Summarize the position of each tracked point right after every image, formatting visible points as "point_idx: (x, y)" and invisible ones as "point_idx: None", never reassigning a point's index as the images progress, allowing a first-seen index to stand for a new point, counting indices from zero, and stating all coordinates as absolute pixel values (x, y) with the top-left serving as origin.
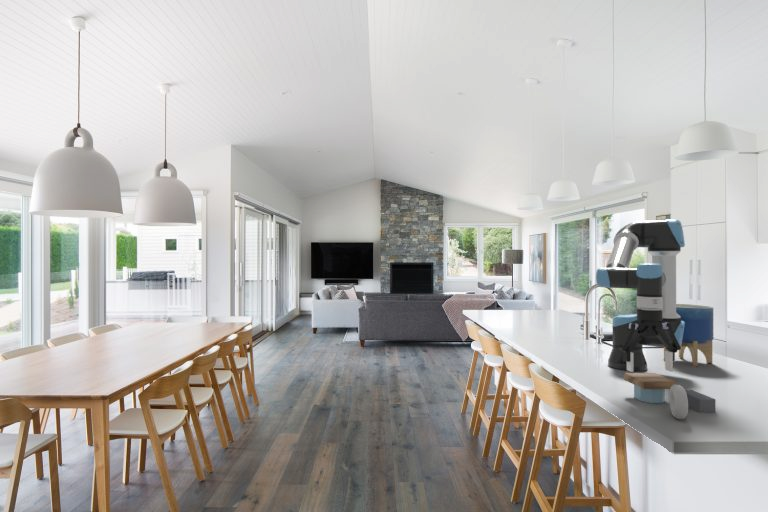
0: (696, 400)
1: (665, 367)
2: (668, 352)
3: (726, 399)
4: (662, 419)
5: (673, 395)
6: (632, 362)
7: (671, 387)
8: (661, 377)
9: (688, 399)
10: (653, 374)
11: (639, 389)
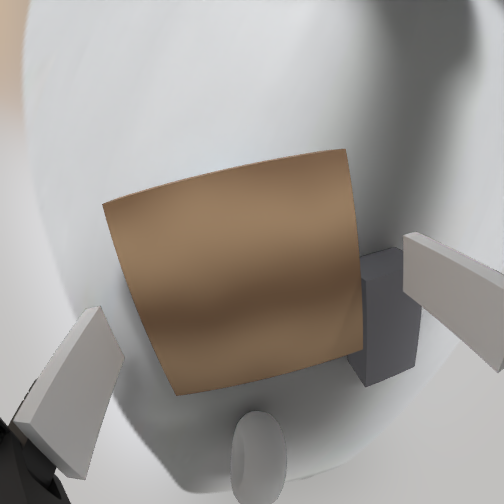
0: (362, 369)
1: (412, 242)
2: (501, 345)
3: (490, 195)
4: (199, 435)
5: (235, 488)
6: (99, 409)
7: (244, 491)
8: (331, 278)
9: None
10: (317, 198)
11: None
